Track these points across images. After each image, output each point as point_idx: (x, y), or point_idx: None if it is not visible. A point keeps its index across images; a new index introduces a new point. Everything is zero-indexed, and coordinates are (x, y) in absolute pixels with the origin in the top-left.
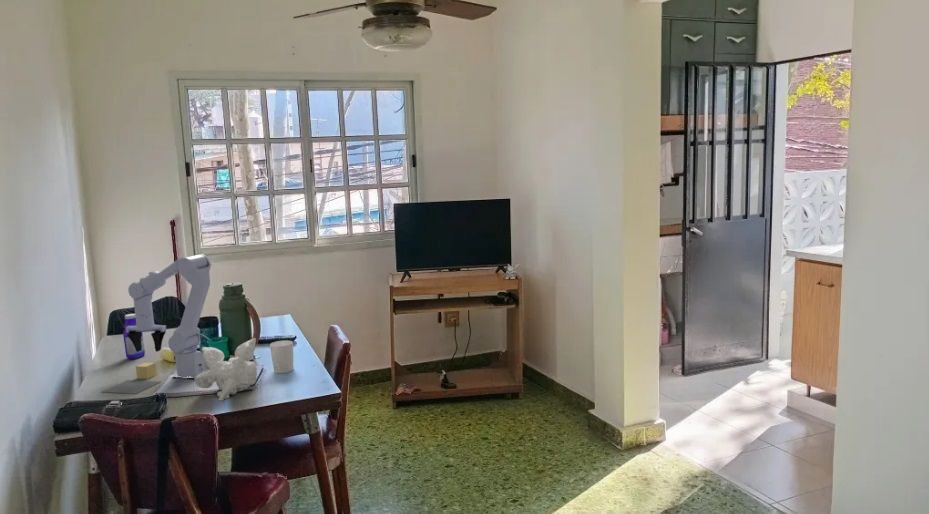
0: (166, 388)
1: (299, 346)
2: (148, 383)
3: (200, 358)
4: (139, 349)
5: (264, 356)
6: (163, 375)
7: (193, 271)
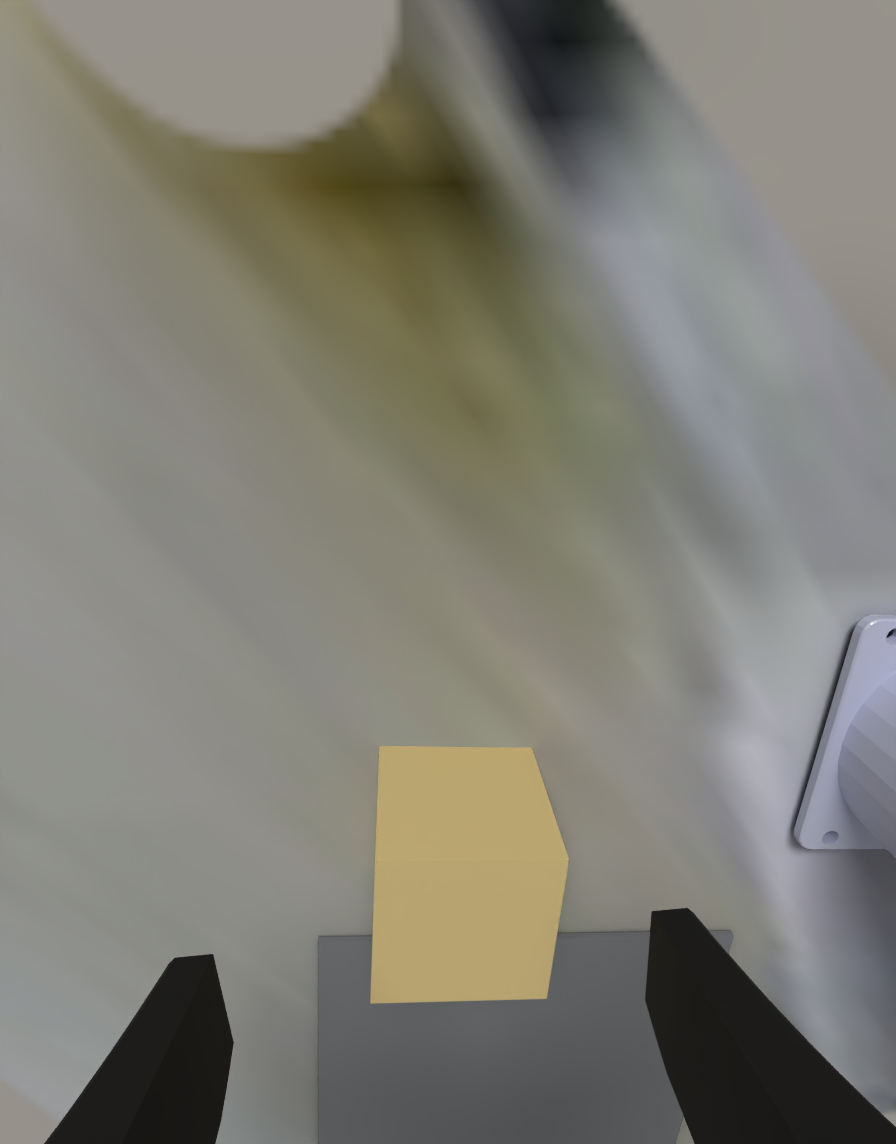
0: (869, 1037)
1: None
2: (635, 988)
3: None
4: (217, 1043)
5: None
6: (638, 763)
7: None
